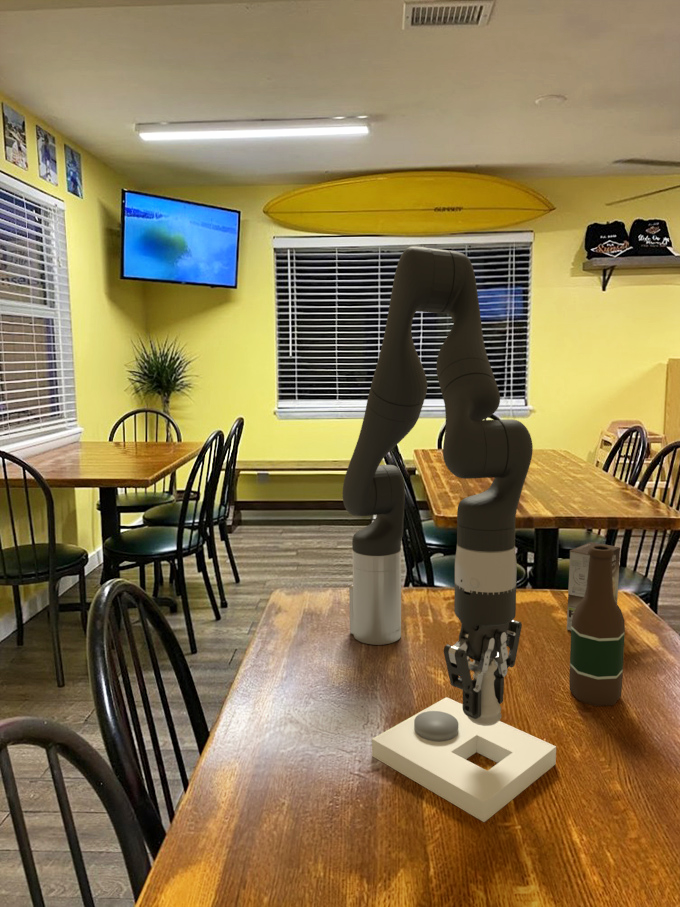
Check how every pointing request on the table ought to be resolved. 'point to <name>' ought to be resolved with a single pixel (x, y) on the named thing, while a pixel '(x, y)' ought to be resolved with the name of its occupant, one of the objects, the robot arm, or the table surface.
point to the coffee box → (580, 574)
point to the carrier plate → (464, 757)
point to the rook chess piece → (488, 698)
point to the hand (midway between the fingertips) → (483, 708)
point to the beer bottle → (597, 636)
